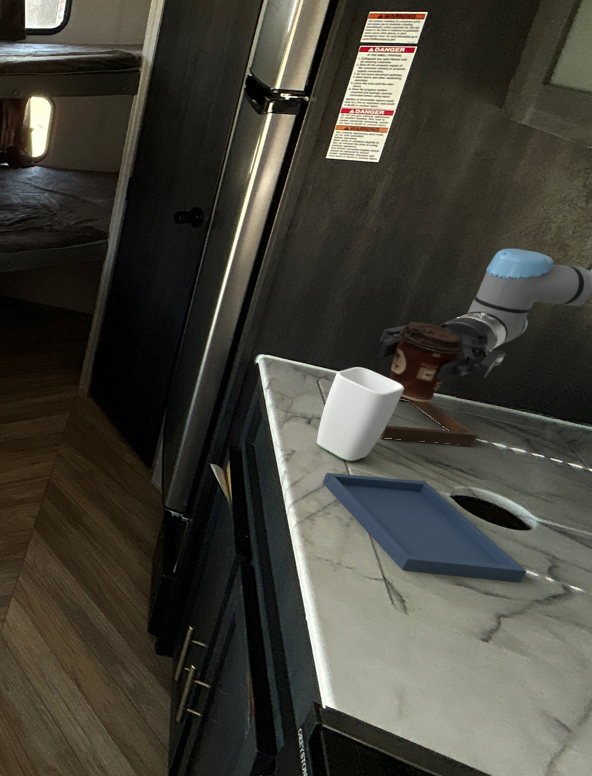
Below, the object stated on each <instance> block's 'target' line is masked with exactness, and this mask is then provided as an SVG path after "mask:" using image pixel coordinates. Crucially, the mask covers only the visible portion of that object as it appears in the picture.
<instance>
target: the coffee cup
mask: <svg viewBox="0 0 592 776" xmlns="http://www.w3.org/2000/svg"><path fill="white" fill-rule="evenodd" d="M410 323H411V322H410ZM406 325H407V326H406V327H405V328H404V329H401V330H399V331H398V332H399V333H400V335H401V336H402V340H401V341H400V342H399V343H398V344H397V348H396V352H395V354H394V356H393V359H392V364H391V368H390V375H389V377H388V378H389V379H391V380H393V381H396V382H398V383H400V384H401V385H402V386H403V387H404V390H403V392H402V395H401V396H402V397H405V398H408V399H411V400H415V401H420V402H426V401H432V400H433V398H434V394H435V393H437V392H438V390H439V388H440V386H441V385H442V384H443V381H440V380H437V379H436V378H437V376H438V374H439V371H440V369H441V367H442V366H443V365H445V364H447V363H449V362H451V361H453V360H455V359H456V358H457V355H458V354H460V353H462V352H463V346H462V344H461V343H460V342H461V338H460V337H459V336H458V335H456V334H454V333H452V332H450V331H448V330H446V329H444V328H441V327H440V325H435V324H430V323H424V322H416V323H411V325H409V324H406Z"/></svg>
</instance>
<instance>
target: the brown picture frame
mask: <svg viewBox="0 0 592 776" xmlns="http://www.w3.org/2000/svg"><path fill="white" fill-rule="evenodd" d="M400 399H405V400H409V401H410V402H411V403H410V402H409V401H406V402H407V403H409V404H410V405H412V406H413V407H414V408H416V409H417V410H418V411H420V412H421V413H422V414H424V415H425V416H426V417H428V418H429V419H430V420H432V421H433V422H434V423H436V424H437V425H439V424H438V423H437V422H439V423H440V424H441V425H442V426H444V427H445V428H447V429H448V430H449V431H448V430H446V429H445V428H443V427H442V426H441V425H439V427H441V428H442V429H435V428H433V429H432V428H420V427H410V426H409V427H407V426H397V425H395V426H394V425H388V424H387V425H386V427H385V429H384V431H383V433H382V434H381V437H382V438H392V439H386V440H387V441H388V440H389V441H395V440H394V439H401V440H397V441H399V442H412V443H413V442H414V443H419V442H418V441H425V442H422V443H425V444H432V443H431V442H438V443H434V444H435V445H436V444H437V445H444V444H443V443H450V444H446V445H449V446H456V445H455V444H459V445H458V446H461V447H473V444H474V442H475V441H476V438H477V437H478V434H476V433H475V432H473V431H472V430H470V428H468V427H466V426H465V425H464V424H463V423H462V422H460V421H458V420H457V419H455V418H454V417H453V416H451V415H450V414H449V413H448V412H446V411H445V410H443V409H442V408H441V407H440V406H437V405H436V404H435V403H433V402H432V400H430V401H426V402H420V401H415V400H411V399H408V398H405V397H402V396H401V397H400ZM398 402H402V401H401V400H399V401H398ZM412 403H413V404H414V405H415V406H414V405H413V404H412ZM416 406H417V407H419V408H420V409H421V410H423V411H424V412H426V413H427V414H428V415H430V416H431V417H432V418H434V420H436V421H437V422H435V421H434V420H433V419H431V418H430V417H429V416H427V415H426V414H425V413H423V412H422V411H421V410H419V409H418V408H417V407H416ZM381 437H379V439H381V440H383V439H382V438H381ZM468 445H469V446H468Z"/></svg>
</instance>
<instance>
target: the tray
mask: <svg viewBox="0 0 592 776" xmlns="http://www.w3.org/2000/svg"><path fill="white" fill-rule="evenodd" d="M322 484H323V485H324V486H325V487H326V488H327V489H328V490H329V492H330V493H331V494H332V495H333V496H334V497H335V498H336V499H337V500H338V502H339V503H340V504H341V505H342V506H343V507H344V508H345V509H346V510H347V512H349V514H351V516H352V517H353V518H354V519H355V520H356V521H357V523H359V524H360V525H361V527H362V528H363V529H364V531H366V532H367V534H369V535H370V537H371V538H372V539H373V540H374V541H375V542H376V543H377V545H379V546H380V548H382V549H383V551H384V552H385V553H386V554H387V555H388V556H389V557H390V558H391V559H392V560H393V562H394V563H395V564H396V565H397V566H398V567H399V568H400V569H401V570H402V571H410V572H417V573H418V572H419V573H420V572H421V573H427V574H437V575H438V574H440V575H448V576H459V577H467V578H476V579H477V578H478V579H485V580H486V579H487V580H495V581H496V580H497V581H505V582H506V581H507V582H513V583H514V582H515V583H521V581H522V579H523V578H524V576H525V575H526V573H527V570H526V569H525V568H524V567H523V566H522V565H521V564H520V563H518V561H516V560H515V559H514V558H513V557H511V556H510V555H509V554H508V553H507V552H506V551H505V550H504V549H502V547H500V546H499V545H498V544H497V543H496V542H495V541H493V539H491V538H490V537H489V536H488V535H487V534H485V532H483V531H482V530H481V529H480V528H479V527H477V525H475V524H474V523H473V522H472V521H471V520H469V518H467V517H466V516H465V515H464V514H463V513H462V512H461V511H459V510H458V509H457V508H456V507H455V506H454V505H453V504H452V503H451V502H449V501H448V500H447V499H446V498H445V497H444V496H443V495H441V494H440V493H439V492H438V491H436V490H435V489H434V488H433V487H432V486H431V485H430V484H428V482H427V481H424V480H415V479H414V480H412V479H403V478H389V477H378V476H369V475H368V476H367V475H357V474H356V475H355V474H345V473H335V472H326V473H325V476H324V478H323V480H322Z"/></svg>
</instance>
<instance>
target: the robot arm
mask: <svg viewBox="0 0 592 776" xmlns="http://www.w3.org/2000/svg"><path fill="white" fill-rule="evenodd" d="M553 263H554V260H553V258H551V257H550V256H549V255H547V254H543V253H541V252H537V251H533V250H526V249H521V248H503V249H500V250H499V251H497V252H496V254H495V255H494V256H493V258H492V259H491V261H490V263H489V264H488V266H487V268H486V272H485V275H484V277H483V280H482V281H481V284H480V286H479V289H478V291H477V293H476V295H475V297H474V298H473V300H472V303H471V304H470V306H469V309H468V311H467V312H466V313H464V314H462V315H460V316H457V317H455V318H452V319H450V320H448V321H445V322H443V323H442V324H440V325H439V326H440V327H441V328H444V329H446V330H448V331H450V332H452V333H454V334H456V335H458V336H459V337H460V338H461V342H460V343H461V344H462V346H463V352H462V353H460V354H458V355H457V358H456V359H455V360H453V361H451V362H449V363H447V364H445V365H443V366H442V367H441V369H440V371H439V374H438V376H437V378H436V379H437V380H440V381H442V382H443V381H445V380H448V379H449V378H451V377H453V376H458V377H463V376H465V375H470V374H474V375H475V377H476V378H479V379H485V378H486V377H487V376H488V375H489V373H490V372H491V370H492V369H493V368H494V367H497V366H501V364H502V362H503V360H504V358H505V357H506V354H507V353H506V352H505V351H503V350H499V349H498V350H495V349H496V348H498V347H499V346H501V345H503V344H507V343H509V342H512V341H513V340H516V339H517V338H519V337H520V336H521V335H522V334H523V333H524V332H525V331H526V329H527V328H528V325H529V323H528V322H529V321H528V318H527V315H528V314H529V312H530V310H531V308H532V307H533V306H534V303H543V304H544V303H545V304H553V305H564V306H572V307H573V306H574V307H581V306H580V305H583V304H584V303H585V302H586V301H587V300H588V299H589V297H590V295H591V293H592V269H591V270H590V271H589V270H586V269H585V268H583V267H584V266H575V265H562V264H553ZM411 323H417V322H416V321H411V322H410V323H409V324H404V325H400V326H395V327H391V328H390V327H389V328H385V329H384V330H383V332H382V334H381V337H380V339H379V342H381V343H382V345H381V348H380V350H379V352H378V355H377V358H380V359H385V358H387V357H390V356H393V355H395V352H396V348H397V344H398V343H399V342H400V341H401V340H402V336H401V335H400V333H399V332H398V331H399V330H401V329H404V328H405V327H406V326H407V325H411ZM477 357H482V358H483V360H482V361H481V362H480V364H478V363H476V361H477Z"/></svg>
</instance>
